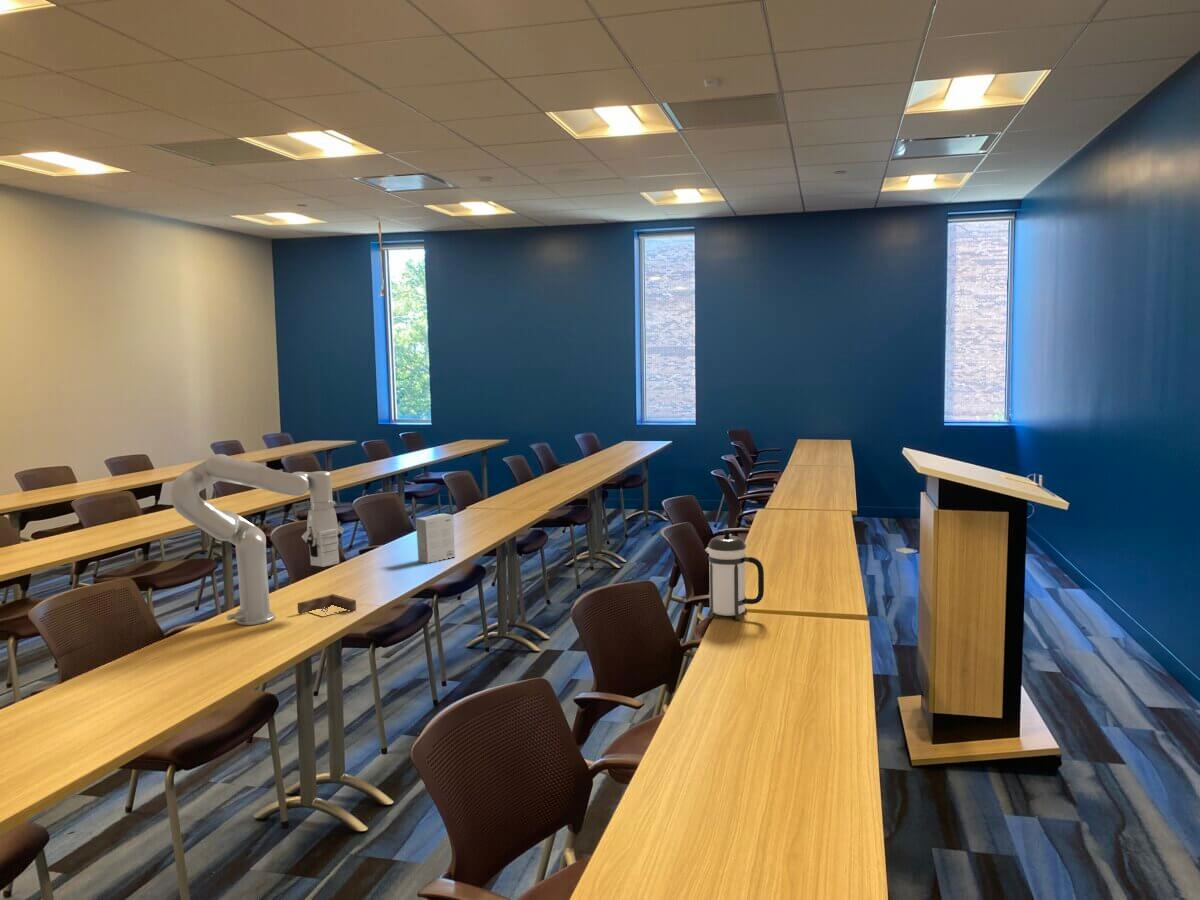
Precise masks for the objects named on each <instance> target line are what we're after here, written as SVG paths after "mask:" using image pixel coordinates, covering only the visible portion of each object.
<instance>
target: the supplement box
mask: <svg viewBox="0 0 1200 900" xmlns="http://www.w3.org/2000/svg"><path fill="white" fill-rule="evenodd" d="M311 536H313V535H312V532H311V533H310V537H311ZM310 537H308V538H309V539H310ZM313 540H314V539H313ZM308 546H309V547H308V548H309V549H310V545H308ZM315 546H317V557H313V556H311V554H310V553H309V560H310V566H316V567H323V568H324V567H327V566H333V565H337V564H339V563H340V554H339V541H338V540H337V529H332V530H326V531H321V532H318V538H317V542H316V545H315Z"/></svg>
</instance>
